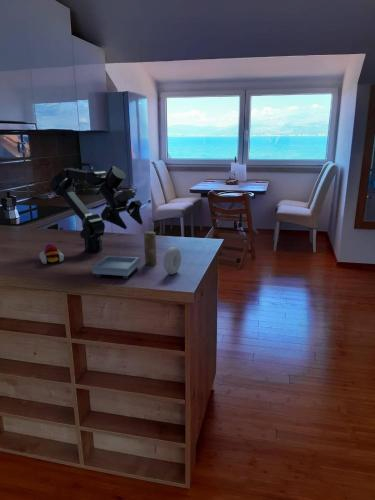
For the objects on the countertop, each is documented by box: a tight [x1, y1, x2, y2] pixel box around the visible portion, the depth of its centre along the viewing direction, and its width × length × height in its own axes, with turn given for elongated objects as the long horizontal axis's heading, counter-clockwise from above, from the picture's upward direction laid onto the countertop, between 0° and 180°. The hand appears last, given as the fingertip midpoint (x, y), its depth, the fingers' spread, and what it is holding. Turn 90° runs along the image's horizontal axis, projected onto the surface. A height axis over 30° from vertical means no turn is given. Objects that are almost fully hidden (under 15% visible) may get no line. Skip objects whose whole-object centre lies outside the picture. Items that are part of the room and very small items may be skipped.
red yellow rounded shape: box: [38, 243, 65, 265], centre depth 153 cm, size 8×10×7 cm
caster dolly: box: [91, 255, 141, 280], centre depth 140 cm, size 13×13×4 cm
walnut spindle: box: [143, 230, 158, 267], centre depth 148 cm, size 4×4×12 cm
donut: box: [163, 246, 182, 275], centre depth 138 cm, size 10×4×10 cm, turn 156°
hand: (134, 226), depth 150 cm, fingers open, 9 cm apart
